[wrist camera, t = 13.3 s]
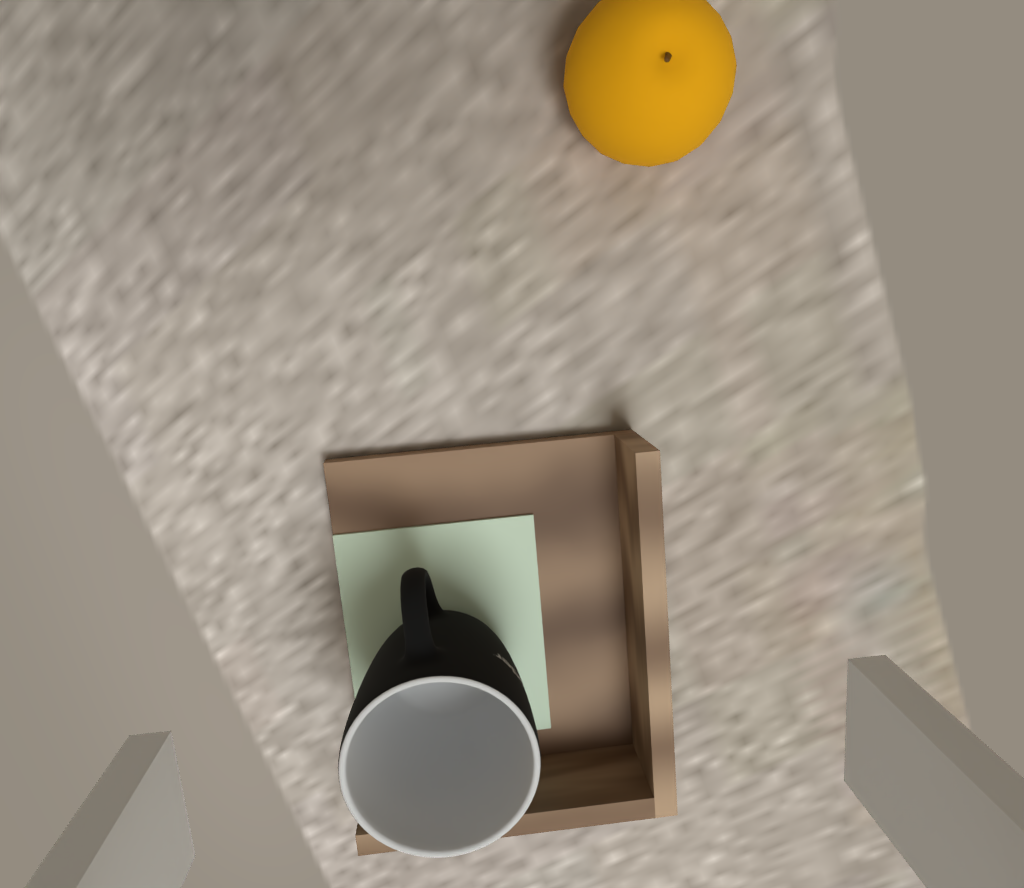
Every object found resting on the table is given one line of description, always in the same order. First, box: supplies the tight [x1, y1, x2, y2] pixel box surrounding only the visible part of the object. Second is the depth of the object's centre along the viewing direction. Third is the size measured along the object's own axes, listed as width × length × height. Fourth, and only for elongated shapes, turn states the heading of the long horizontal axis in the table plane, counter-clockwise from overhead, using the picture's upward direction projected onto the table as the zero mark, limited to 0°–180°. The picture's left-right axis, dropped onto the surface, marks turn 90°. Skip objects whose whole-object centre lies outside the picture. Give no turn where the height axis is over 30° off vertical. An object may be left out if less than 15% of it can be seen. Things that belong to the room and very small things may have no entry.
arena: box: [323, 429, 677, 856], centre depth 42 cm, size 20×17×6 cm
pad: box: [333, 514, 551, 730], centre depth 43 cm, size 13×11×1 cm
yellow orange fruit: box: [564, 0, 737, 167], centre depth 36 cm, size 8×8×8 cm
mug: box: [338, 567, 541, 858], centre depth 38 cm, size 12×9×10 cm
